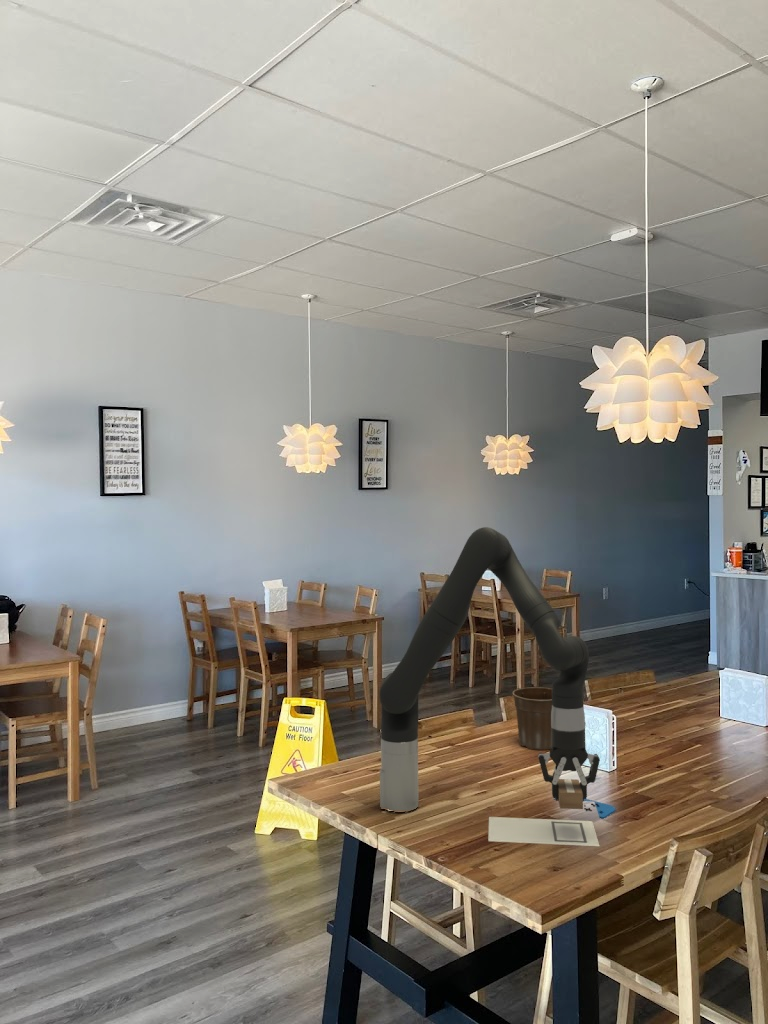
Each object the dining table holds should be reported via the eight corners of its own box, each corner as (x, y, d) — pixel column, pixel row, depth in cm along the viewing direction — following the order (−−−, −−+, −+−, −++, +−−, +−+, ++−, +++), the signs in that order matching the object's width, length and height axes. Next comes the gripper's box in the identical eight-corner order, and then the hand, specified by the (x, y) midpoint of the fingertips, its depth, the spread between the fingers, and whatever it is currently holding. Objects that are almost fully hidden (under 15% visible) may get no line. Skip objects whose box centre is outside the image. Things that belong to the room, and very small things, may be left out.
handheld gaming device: (603, 816, 193) (547, 801, 203) (603, 820, 193) (547, 805, 203) (619, 806, 199) (564, 792, 209) (619, 810, 199) (564, 796, 209)
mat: (488, 843, 180) (488, 840, 180) (488, 818, 194) (488, 816, 194) (599, 848, 177) (599, 845, 177) (592, 823, 191) (592, 820, 191)
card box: (556, 794, 190) (556, 778, 190) (578, 794, 189) (578, 779, 189) (559, 808, 181) (559, 792, 181) (582, 809, 180) (582, 792, 180)
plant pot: (570, 752, 245) (570, 699, 244) (516, 752, 245) (516, 699, 245) (560, 737, 261) (559, 687, 261) (509, 737, 261) (509, 687, 261)
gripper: (598, 721, 187) (599, 795, 188) (535, 720, 189) (536, 793, 189) (602, 730, 180) (604, 807, 180) (536, 729, 182) (538, 805, 182)
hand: (569, 799), depth 185 cm, fingers closed on card box, 5 cm apart
